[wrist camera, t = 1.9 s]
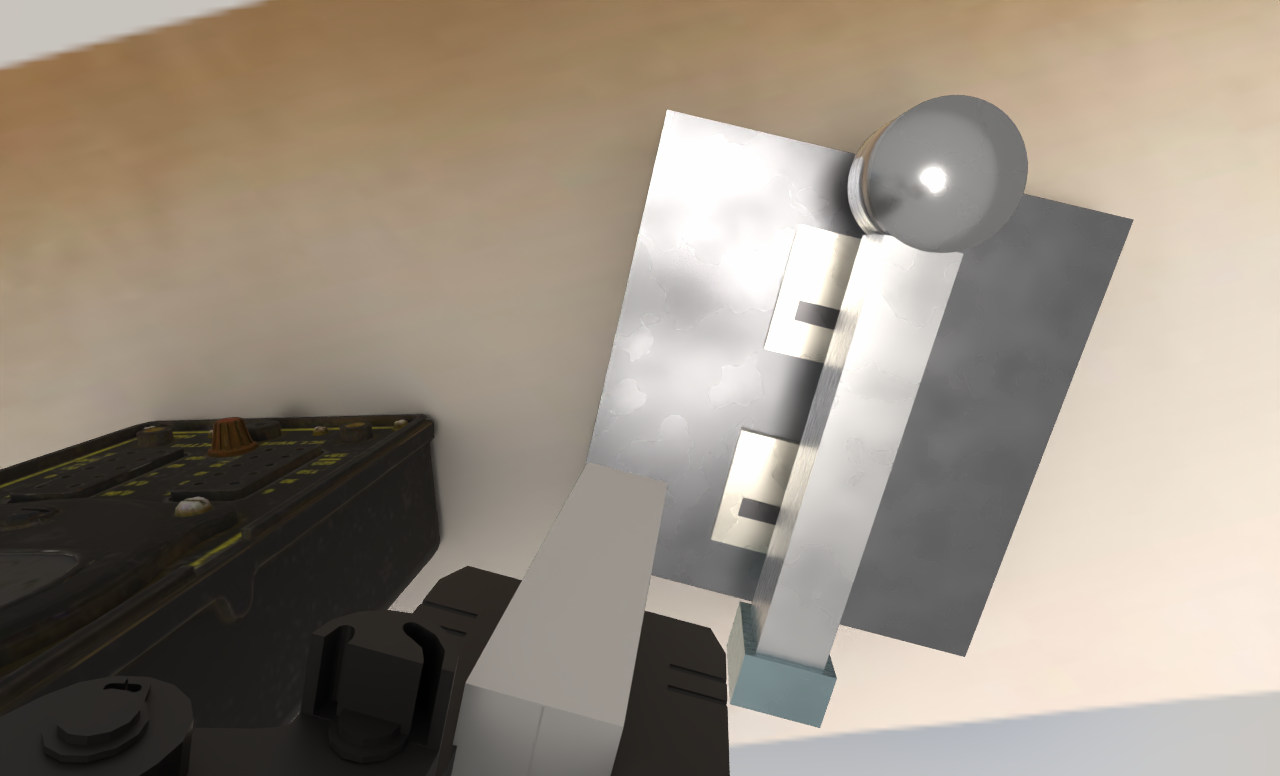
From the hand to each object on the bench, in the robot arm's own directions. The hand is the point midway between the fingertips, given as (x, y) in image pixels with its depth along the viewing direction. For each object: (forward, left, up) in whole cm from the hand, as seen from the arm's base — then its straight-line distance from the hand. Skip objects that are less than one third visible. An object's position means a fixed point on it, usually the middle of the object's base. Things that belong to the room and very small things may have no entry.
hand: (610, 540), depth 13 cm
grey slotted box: (+7, 0, -20) cm, 21 cm away
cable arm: (+7, +1, -14) cm, 15 cm away
